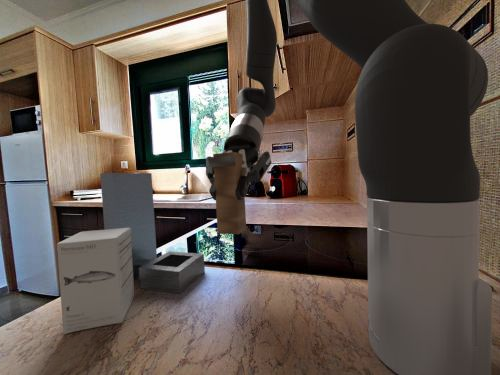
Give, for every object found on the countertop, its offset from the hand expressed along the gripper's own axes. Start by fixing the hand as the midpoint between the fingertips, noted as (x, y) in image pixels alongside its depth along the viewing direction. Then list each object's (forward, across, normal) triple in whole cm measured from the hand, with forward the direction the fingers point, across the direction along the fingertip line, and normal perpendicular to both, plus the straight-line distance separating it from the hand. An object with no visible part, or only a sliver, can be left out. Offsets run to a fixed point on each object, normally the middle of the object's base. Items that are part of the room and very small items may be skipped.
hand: (226, 196), depth 37 cm
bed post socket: (+10, -17, +13) cm, 24 cm away
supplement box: (+19, -17, +5) cm, 26 cm away
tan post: (+3, 0, +6) cm, 7 cm away
